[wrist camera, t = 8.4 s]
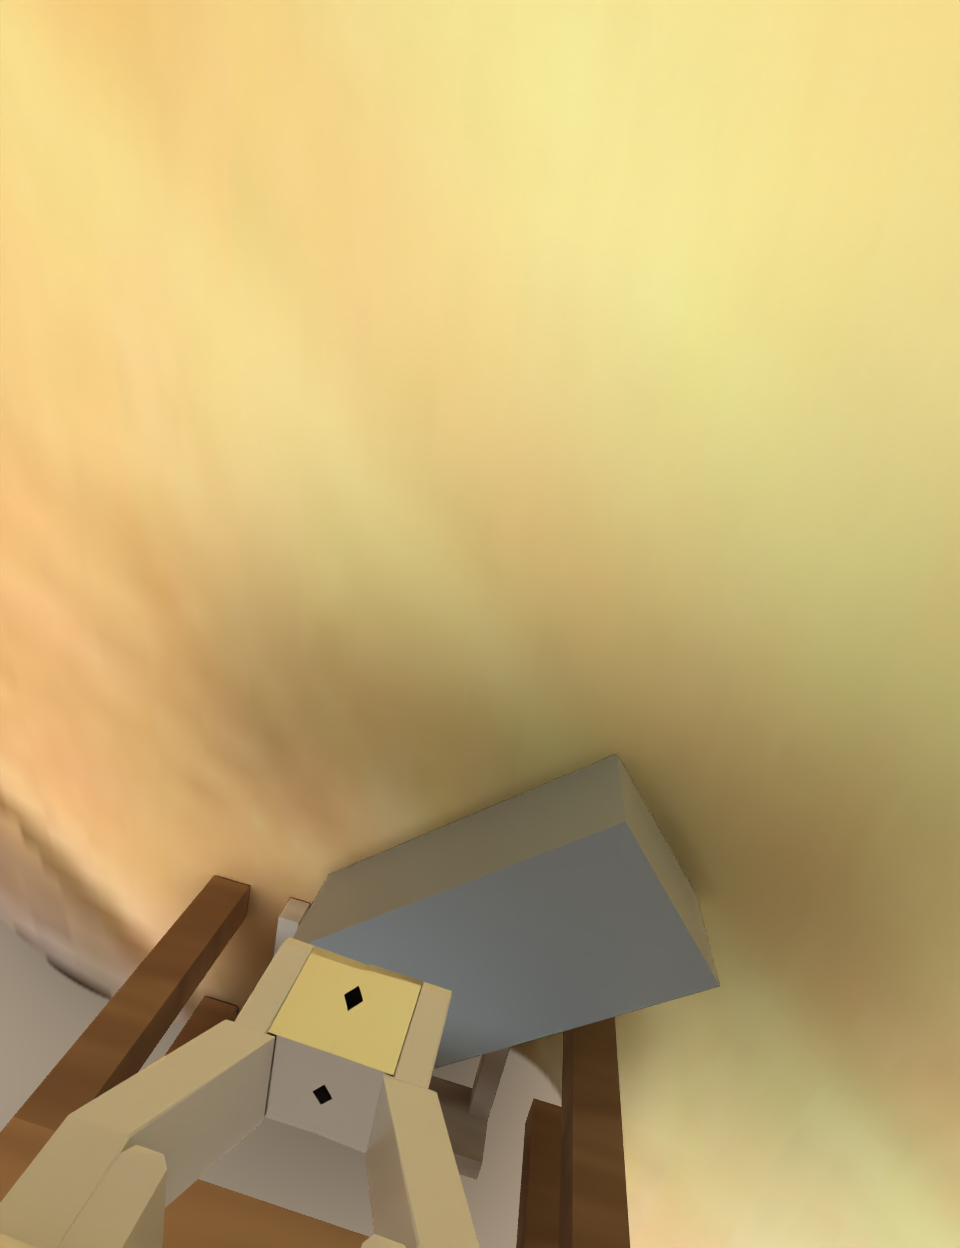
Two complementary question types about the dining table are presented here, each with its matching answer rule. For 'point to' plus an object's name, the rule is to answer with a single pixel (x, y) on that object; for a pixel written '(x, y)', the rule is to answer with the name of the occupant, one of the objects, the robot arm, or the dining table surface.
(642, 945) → the slab
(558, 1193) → the bench
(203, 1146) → the robot arm
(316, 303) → the dining table surface
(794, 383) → the dining table surface
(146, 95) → the dining table surface
